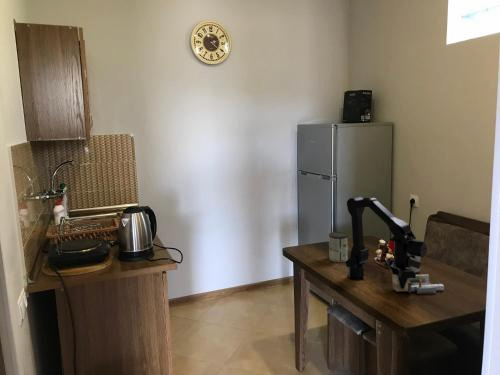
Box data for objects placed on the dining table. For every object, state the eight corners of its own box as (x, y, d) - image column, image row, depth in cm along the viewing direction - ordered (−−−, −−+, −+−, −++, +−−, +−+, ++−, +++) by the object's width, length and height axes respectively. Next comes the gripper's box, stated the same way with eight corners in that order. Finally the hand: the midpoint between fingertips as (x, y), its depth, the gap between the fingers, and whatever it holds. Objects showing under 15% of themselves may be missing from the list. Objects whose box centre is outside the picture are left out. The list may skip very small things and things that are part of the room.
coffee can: (332, 254, 232) (332, 231, 230) (350, 257, 227) (350, 233, 225) (326, 260, 224) (325, 235, 222) (344, 263, 218) (344, 237, 216)
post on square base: (408, 292, 178) (408, 282, 177) (404, 288, 183) (404, 278, 182) (445, 291, 178) (445, 281, 177) (439, 286, 183) (440, 277, 182)
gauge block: (396, 291, 178) (396, 278, 177) (392, 286, 182) (392, 274, 182) (407, 291, 178) (408, 278, 177) (403, 286, 182) (403, 273, 182)
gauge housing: (407, 294, 177) (407, 283, 176) (399, 285, 186) (399, 275, 185) (437, 292, 177) (437, 282, 176) (427, 284, 186) (428, 274, 185)
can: (421, 273, 200) (422, 250, 198) (405, 273, 201) (405, 249, 199) (418, 268, 207) (419, 245, 205) (402, 268, 208) (403, 245, 206)
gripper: (429, 258, 168) (427, 294, 171) (410, 245, 187) (409, 277, 189) (402, 259, 168) (401, 295, 171) (386, 246, 187) (385, 278, 189)
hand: (400, 286), depth 180 cm, fingers closed on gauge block, 5 cm apart
